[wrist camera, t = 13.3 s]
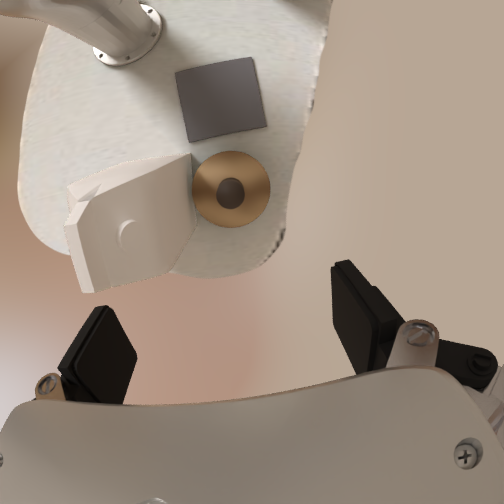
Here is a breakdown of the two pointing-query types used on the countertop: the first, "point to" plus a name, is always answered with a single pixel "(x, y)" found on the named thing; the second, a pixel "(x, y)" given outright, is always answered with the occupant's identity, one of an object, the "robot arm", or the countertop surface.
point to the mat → (220, 99)
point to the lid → (230, 189)
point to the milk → (130, 221)
